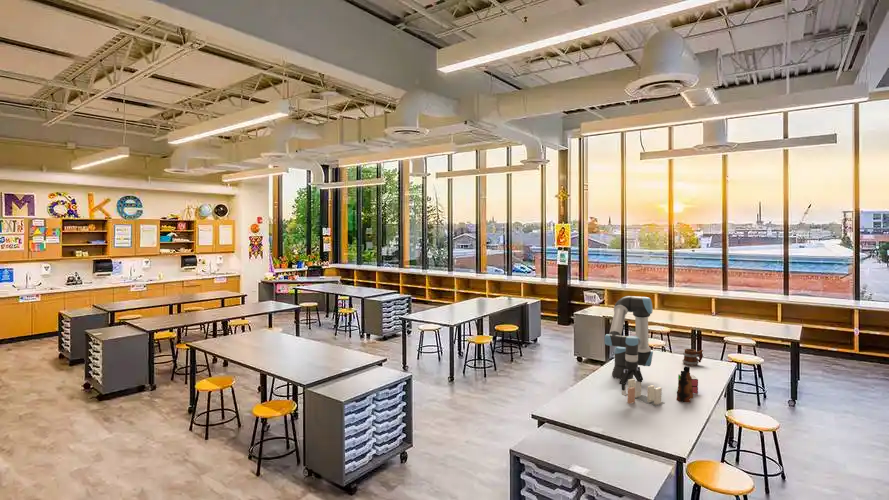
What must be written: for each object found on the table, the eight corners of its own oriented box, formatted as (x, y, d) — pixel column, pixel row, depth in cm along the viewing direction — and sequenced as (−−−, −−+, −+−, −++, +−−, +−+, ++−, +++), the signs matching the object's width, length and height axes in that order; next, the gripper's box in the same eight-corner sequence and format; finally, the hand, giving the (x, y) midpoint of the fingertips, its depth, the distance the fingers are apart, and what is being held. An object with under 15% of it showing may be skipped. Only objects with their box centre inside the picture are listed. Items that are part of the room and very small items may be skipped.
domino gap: (627, 403, 304) (627, 388, 303) (632, 402, 306) (632, 386, 306) (629, 404, 302) (629, 389, 302) (634, 402, 305) (634, 387, 304)
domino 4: (654, 403, 302) (654, 388, 301) (659, 402, 304) (659, 387, 304) (656, 404, 300) (656, 389, 300) (661, 403, 303) (661, 387, 302)
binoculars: (680, 393, 321) (681, 364, 320) (694, 396, 317) (694, 366, 316) (675, 401, 307) (675, 371, 306) (689, 404, 302) (689, 373, 301)
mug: (681, 360, 398) (685, 343, 396) (700, 365, 392) (704, 348, 390) (680, 364, 388) (684, 347, 386) (700, 369, 381) (704, 352, 379)
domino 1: (627, 394, 319) (628, 379, 318) (632, 393, 321) (632, 378, 321) (629, 395, 317) (630, 380, 317) (634, 393, 320) (634, 379, 319)
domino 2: (634, 396, 314) (634, 382, 314) (639, 395, 317) (639, 380, 316) (636, 397, 313) (636, 382, 313) (641, 396, 316) (641, 381, 315)
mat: (623, 395, 319) (623, 394, 319) (633, 392, 324) (633, 391, 324) (655, 406, 298) (655, 406, 298) (665, 403, 303) (665, 403, 303)
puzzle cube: (698, 393, 321) (698, 379, 320) (682, 392, 323) (682, 378, 322) (693, 388, 331) (693, 374, 330) (677, 387, 333) (678, 374, 332)
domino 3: (647, 401, 306) (647, 386, 305) (652, 400, 308) (652, 385, 308) (649, 402, 304) (649, 387, 304) (654, 400, 307) (654, 385, 306)
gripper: (623, 364, 293) (623, 398, 294) (649, 359, 306) (648, 391, 307) (613, 361, 300) (613, 394, 301) (639, 356, 312) (638, 388, 313)
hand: (631, 393), depth 304 cm, fingers open, 13 cm apart
